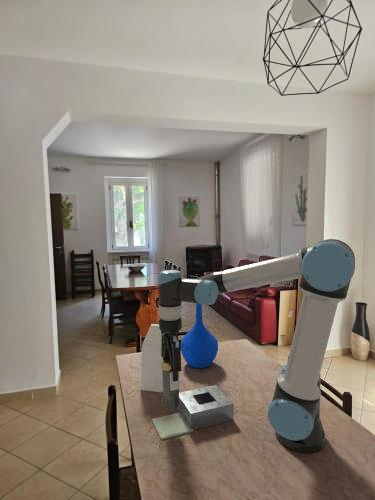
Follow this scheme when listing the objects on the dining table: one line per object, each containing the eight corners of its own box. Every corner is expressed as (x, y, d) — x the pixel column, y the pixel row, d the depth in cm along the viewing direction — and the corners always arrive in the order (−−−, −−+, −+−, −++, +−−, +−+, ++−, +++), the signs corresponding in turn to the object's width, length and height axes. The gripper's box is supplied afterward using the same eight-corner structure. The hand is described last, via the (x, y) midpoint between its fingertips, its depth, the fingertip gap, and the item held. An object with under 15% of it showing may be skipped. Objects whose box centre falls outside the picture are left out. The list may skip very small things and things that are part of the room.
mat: (193, 431, 109) (193, 429, 109) (161, 439, 105) (161, 438, 105) (181, 413, 119) (181, 411, 119) (151, 420, 115) (151, 418, 115)
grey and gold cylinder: (183, 406, 110) (183, 366, 108) (164, 411, 107) (164, 369, 106) (176, 396, 116) (176, 358, 114) (158, 400, 113) (158, 361, 112)
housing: (233, 419, 115) (233, 403, 114) (191, 430, 109) (190, 413, 109) (215, 399, 128) (215, 385, 127) (176, 408, 122) (176, 393, 122)
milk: (140, 389, 136) (139, 328, 134) (150, 377, 147) (149, 320, 145) (168, 393, 133) (167, 330, 131) (176, 379, 144) (175, 321, 142)
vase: (186, 374, 149) (185, 310, 146) (176, 358, 166) (175, 300, 164) (223, 369, 154) (223, 307, 151) (210, 354, 171) (210, 298, 169)
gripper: (192, 324, 101) (192, 396, 103) (171, 308, 119) (172, 370, 121) (168, 327, 98) (169, 401, 100) (151, 310, 116) (152, 373, 118)
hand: (170, 384), depth 111 cm, fingers closed on grey and gold cylinder, 7 cm apart
